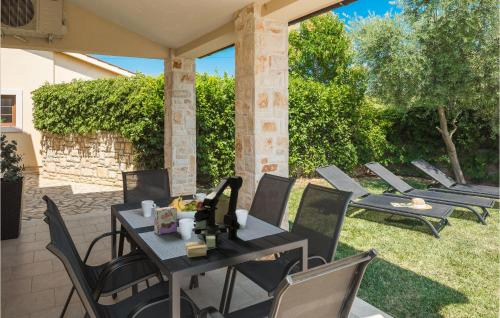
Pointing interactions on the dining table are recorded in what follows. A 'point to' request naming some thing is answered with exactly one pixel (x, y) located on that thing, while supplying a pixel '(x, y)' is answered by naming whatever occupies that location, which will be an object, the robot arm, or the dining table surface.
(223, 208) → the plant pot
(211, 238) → the sage cube
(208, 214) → the robot arm
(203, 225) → the grey green cup
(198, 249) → the oak block
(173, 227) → the candy box
